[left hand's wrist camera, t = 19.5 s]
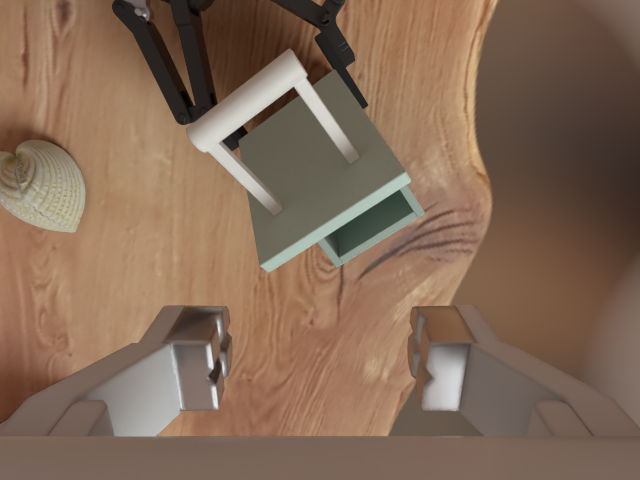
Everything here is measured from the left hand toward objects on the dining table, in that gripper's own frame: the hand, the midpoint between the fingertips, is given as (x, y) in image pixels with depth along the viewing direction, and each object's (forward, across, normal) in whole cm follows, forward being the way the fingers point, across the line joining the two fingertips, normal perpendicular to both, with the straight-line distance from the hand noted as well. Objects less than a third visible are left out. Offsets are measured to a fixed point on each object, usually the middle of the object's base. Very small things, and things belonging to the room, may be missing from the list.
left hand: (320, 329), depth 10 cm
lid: (+18, +1, -1) cm, 18 cm away
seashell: (+34, +29, +5) cm, 45 cm away
